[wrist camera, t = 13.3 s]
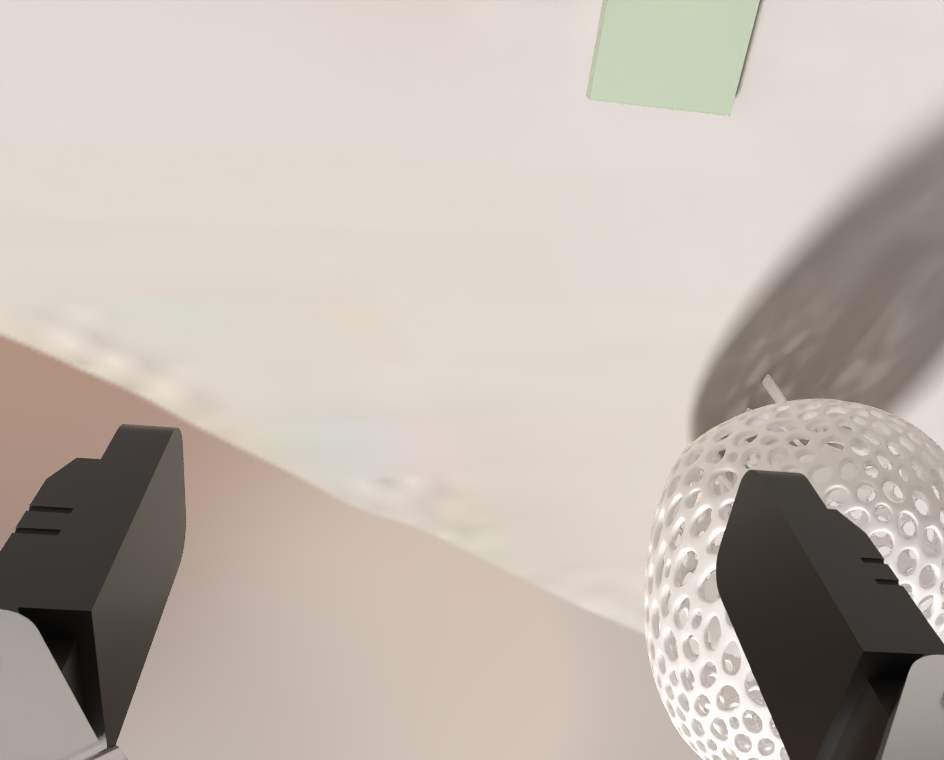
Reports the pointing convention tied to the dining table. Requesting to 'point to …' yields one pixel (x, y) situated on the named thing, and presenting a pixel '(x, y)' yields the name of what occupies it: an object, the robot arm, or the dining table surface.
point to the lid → (671, 53)
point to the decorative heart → (816, 461)
